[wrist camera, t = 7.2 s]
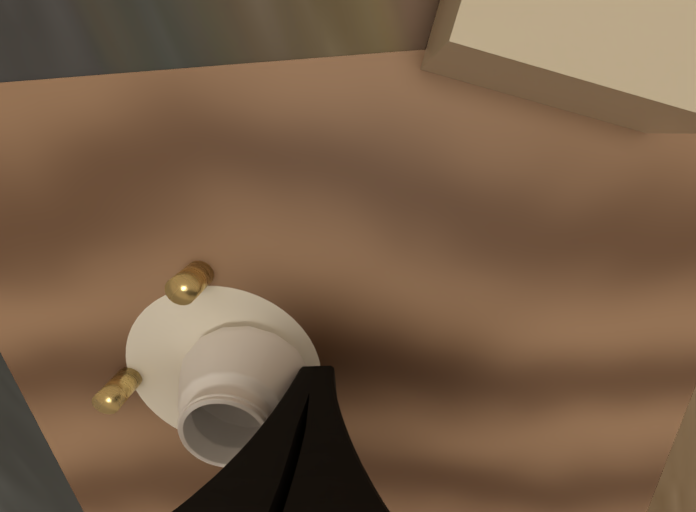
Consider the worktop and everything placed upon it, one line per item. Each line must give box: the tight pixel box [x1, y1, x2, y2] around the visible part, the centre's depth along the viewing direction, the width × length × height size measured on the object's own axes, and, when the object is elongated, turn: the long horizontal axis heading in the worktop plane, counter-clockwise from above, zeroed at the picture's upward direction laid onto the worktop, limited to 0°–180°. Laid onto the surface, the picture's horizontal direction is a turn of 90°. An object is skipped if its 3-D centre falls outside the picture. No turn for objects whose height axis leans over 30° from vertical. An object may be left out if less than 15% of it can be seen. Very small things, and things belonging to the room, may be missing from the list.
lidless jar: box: [177, 326, 307, 467], centre depth 12 cm, size 5×3×5 cm
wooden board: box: [0, 49, 696, 512], centre depth 13 cm, size 22×28×2 cm
